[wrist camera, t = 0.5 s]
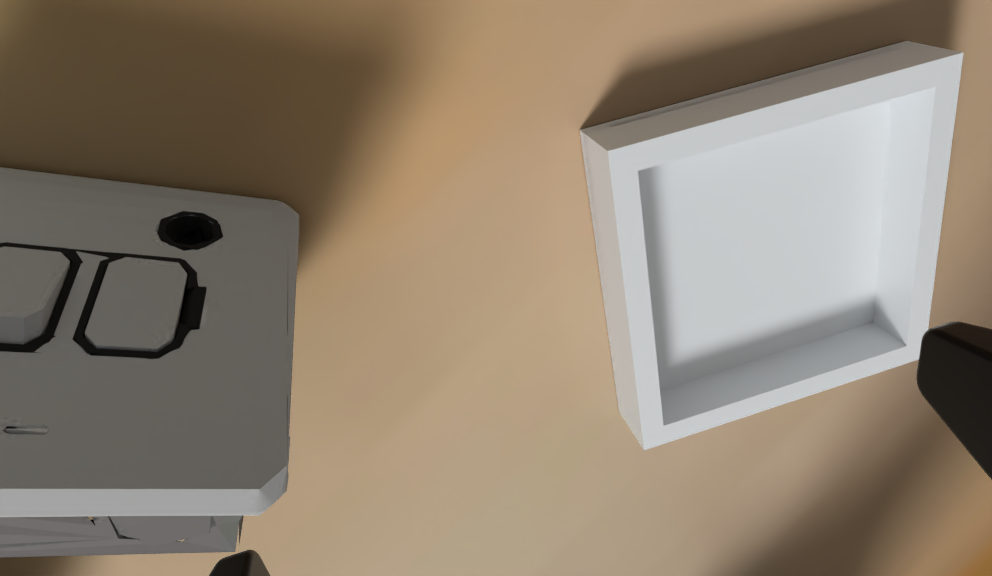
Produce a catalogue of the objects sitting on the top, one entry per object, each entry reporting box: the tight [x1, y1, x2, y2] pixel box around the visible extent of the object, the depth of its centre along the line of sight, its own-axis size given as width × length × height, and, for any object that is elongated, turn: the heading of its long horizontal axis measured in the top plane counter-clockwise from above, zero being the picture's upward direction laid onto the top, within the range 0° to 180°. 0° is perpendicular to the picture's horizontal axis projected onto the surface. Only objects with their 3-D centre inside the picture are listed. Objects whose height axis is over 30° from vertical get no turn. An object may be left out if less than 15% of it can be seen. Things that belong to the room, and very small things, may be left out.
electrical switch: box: [0, 167, 299, 557], centre depth 16 cm, size 9×5×9 cm, turn 77°
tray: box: [580, 41, 964, 450], centre depth 24 cm, size 11×11×2 cm
